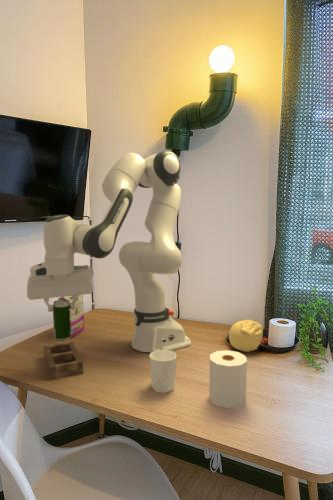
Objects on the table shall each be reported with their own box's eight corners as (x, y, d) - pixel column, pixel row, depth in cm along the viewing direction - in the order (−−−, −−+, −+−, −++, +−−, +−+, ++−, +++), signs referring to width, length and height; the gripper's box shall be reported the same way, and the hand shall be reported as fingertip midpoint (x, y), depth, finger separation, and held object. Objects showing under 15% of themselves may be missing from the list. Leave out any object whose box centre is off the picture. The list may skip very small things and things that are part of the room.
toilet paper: (221, 412, 101) (222, 368, 99) (202, 393, 110) (202, 353, 108) (253, 403, 105) (254, 361, 103) (232, 386, 114) (233, 347, 112)
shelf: (73, 352, 138) (72, 341, 138) (83, 373, 122) (82, 361, 122) (44, 357, 135) (43, 346, 134) (50, 379, 118) (50, 367, 118)
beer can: (57, 342, 120) (55, 305, 118) (52, 336, 124) (50, 301, 123) (73, 338, 123) (72, 302, 121) (68, 333, 127) (67, 298, 125)
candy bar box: (74, 328, 163) (72, 290, 160) (84, 329, 161) (83, 291, 159) (59, 337, 152) (57, 297, 150) (69, 339, 151) (68, 298, 148)
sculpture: (253, 357, 134) (254, 328, 132) (223, 349, 141) (223, 321, 139) (266, 347, 143) (268, 319, 141) (237, 339, 150) (238, 313, 148)
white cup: (167, 396, 108) (167, 363, 107) (144, 389, 112) (144, 356, 111) (181, 384, 115) (181, 353, 113) (159, 378, 119) (159, 347, 118)
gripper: (90, 263, 127) (92, 303, 129) (25, 267, 119) (27, 310, 121) (94, 266, 121) (96, 308, 123) (26, 271, 113) (28, 316, 115)
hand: (61, 309), depth 122 cm, fingers closed on beer can, 5 cm apart
